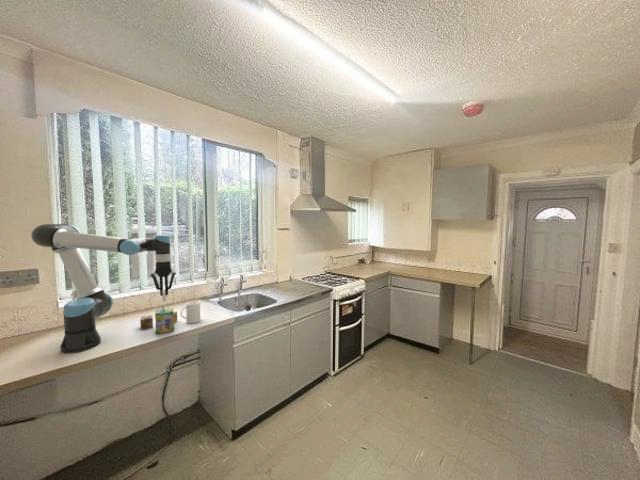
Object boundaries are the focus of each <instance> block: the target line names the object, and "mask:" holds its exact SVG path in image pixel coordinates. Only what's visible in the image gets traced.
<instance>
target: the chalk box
mask: <svg viewBox="0 0 640 480" xmlns="http://www.w3.org/2000/svg"><path fill="white" fill-rule="evenodd" d="M173 312H174V307H173V308H164V305H162V306H161V309H156V310H155V314H154V316H155V317H154V318H155V334H156V335H159V334H164V333H168V332H174V331H175V323H174V316H173Z"/></svg>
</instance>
